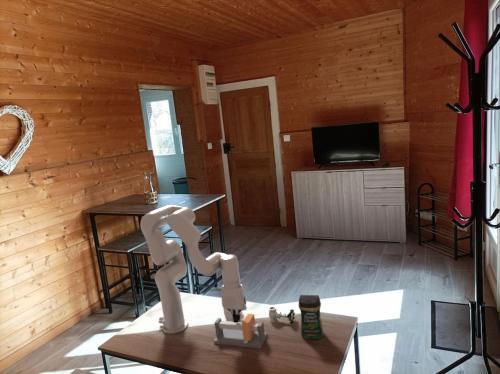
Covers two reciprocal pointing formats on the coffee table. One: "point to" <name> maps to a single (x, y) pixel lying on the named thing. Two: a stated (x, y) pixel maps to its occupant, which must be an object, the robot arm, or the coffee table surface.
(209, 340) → the coffee table surface
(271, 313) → the valve
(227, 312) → the cylinder with rectangular tab
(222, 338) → the slider rail fixture
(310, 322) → the coffee jar
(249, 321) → the orange rectangular prism
